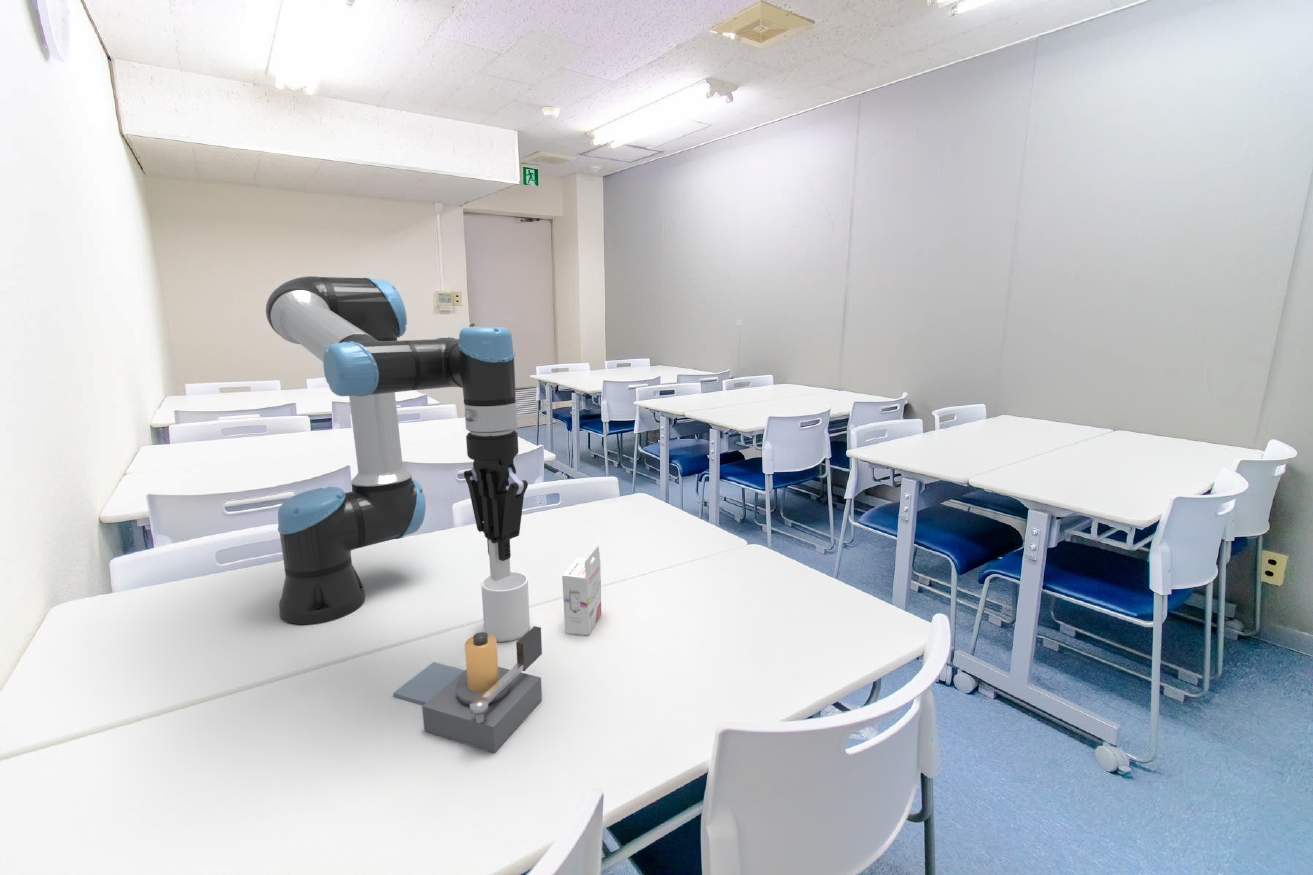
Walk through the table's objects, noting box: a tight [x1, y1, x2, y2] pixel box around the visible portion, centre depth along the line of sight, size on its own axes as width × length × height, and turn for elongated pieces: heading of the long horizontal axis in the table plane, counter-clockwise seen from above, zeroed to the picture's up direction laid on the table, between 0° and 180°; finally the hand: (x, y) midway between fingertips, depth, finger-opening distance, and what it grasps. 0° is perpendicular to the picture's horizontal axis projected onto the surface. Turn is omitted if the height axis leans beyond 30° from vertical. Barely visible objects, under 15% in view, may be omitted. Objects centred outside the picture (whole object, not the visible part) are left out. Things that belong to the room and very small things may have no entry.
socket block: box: [421, 666, 543, 754], centre depth 89 cm, size 12×12×5 cm
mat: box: [392, 661, 466, 706], centre depth 96 cm, size 9×9×1 cm
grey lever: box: [470, 625, 543, 715], centre depth 88 cm, size 2×16×5 cm, turn 159°
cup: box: [480, 570, 531, 643], centre depth 114 cm, size 8×12×10 cm
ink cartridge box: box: [561, 545, 602, 636], centre depth 114 cm, size 9×5×15 cm, turn 168°
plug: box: [456, 631, 510, 707], centre depth 88 cm, size 8×8×13 cm
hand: (500, 576), depth 96 cm, fingers closed
